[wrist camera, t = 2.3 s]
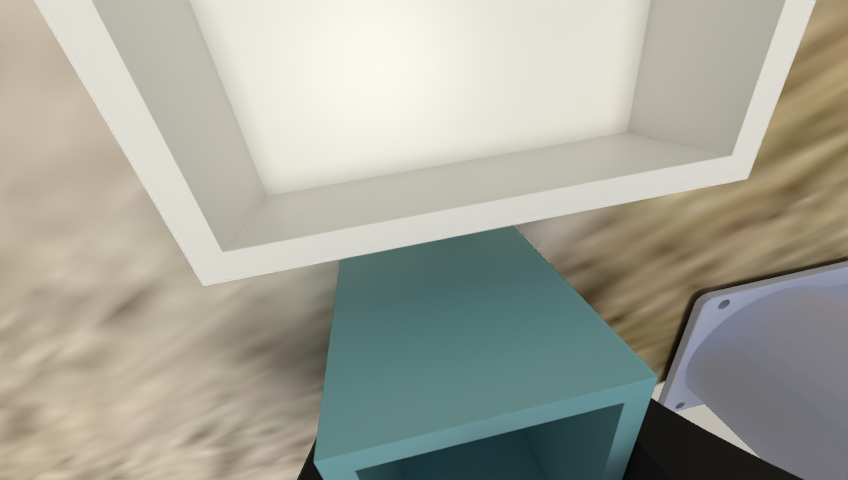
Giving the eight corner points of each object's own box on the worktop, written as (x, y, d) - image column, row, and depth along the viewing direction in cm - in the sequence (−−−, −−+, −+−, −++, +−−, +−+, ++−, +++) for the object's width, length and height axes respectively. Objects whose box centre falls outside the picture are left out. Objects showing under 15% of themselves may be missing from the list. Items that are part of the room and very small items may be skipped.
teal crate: (510, 223, 10) (658, 376, 5) (509, 380, 14) (593, 559, 9) (340, 256, 10) (313, 461, 5) (387, 409, 14) (401, 615, 9)
